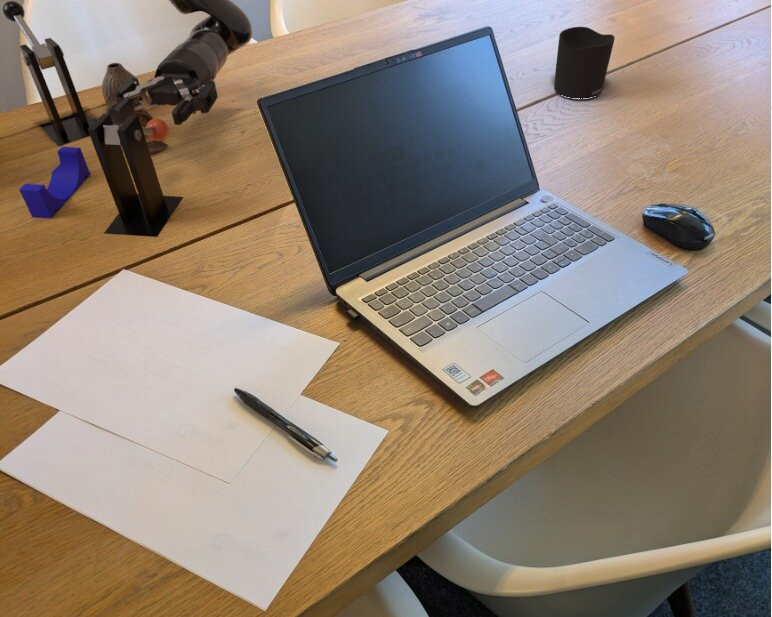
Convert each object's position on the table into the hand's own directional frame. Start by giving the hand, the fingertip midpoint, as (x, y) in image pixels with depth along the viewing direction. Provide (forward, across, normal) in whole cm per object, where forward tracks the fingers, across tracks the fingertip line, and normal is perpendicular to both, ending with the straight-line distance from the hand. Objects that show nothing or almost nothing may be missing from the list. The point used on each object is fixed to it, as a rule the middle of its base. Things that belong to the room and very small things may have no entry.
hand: (147, 117), depth 94 cm
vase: (-25, -18, +12) cm, 33 cm away
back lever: (-19, -28, -3) cm, 34 cm away
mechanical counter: (-12, -10, +12) cm, 20 cm away
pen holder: (-40, +64, +11) cm, 76 cm away
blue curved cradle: (+5, -15, +12) cm, 20 cm away
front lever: (+4, 0, +2) cm, 5 cm away
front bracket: (+8, 0, +12) cm, 15 cm away
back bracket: (-15, -24, +12) cm, 31 cm away
